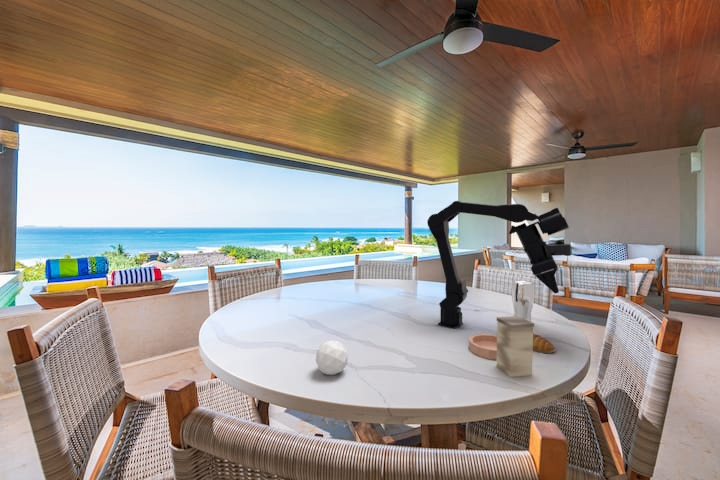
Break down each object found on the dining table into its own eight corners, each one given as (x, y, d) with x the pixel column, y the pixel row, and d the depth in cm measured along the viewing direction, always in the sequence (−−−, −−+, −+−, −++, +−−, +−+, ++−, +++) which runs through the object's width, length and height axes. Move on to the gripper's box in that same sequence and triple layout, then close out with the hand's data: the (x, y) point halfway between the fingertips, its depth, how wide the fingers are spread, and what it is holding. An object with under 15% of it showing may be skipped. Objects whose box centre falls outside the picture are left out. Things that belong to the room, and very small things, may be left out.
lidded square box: (495, 365, 77) (496, 317, 76) (516, 363, 78) (517, 315, 77) (510, 377, 71) (511, 325, 70) (533, 375, 72) (534, 323, 71)
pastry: (559, 351, 85) (559, 337, 85) (547, 357, 82) (547, 343, 82) (526, 340, 93) (526, 328, 93) (513, 345, 90) (513, 332, 89)
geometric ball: (323, 385, 73) (303, 357, 74) (344, 362, 79) (325, 337, 79) (338, 381, 68) (317, 351, 68) (360, 357, 74) (340, 330, 74)
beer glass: (537, 328, 103) (539, 284, 102) (517, 328, 103) (518, 284, 102) (527, 321, 110) (528, 280, 109) (507, 321, 110) (508, 280, 109)
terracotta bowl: (462, 351, 85) (462, 342, 85) (478, 339, 94) (478, 331, 94) (507, 364, 77) (507, 354, 77) (519, 349, 86) (520, 341, 86)
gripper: (563, 232, 82) (591, 287, 79) (558, 230, 98) (582, 275, 95) (520, 248, 87) (545, 300, 85) (522, 243, 103) (544, 287, 101)
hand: (555, 289), depth 91 cm, fingers open, 9 cm apart
